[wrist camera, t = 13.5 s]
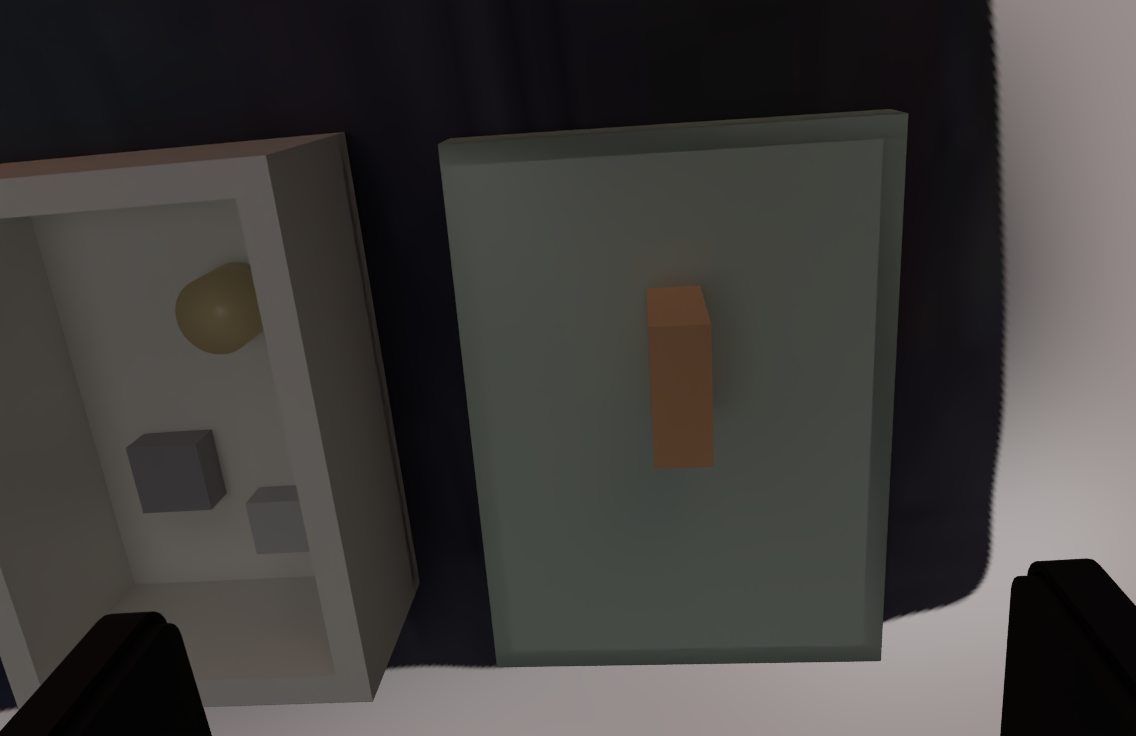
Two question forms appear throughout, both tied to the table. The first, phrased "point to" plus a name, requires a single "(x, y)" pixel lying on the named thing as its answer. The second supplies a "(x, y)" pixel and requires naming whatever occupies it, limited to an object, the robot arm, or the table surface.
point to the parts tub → (199, 419)
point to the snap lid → (682, 384)
